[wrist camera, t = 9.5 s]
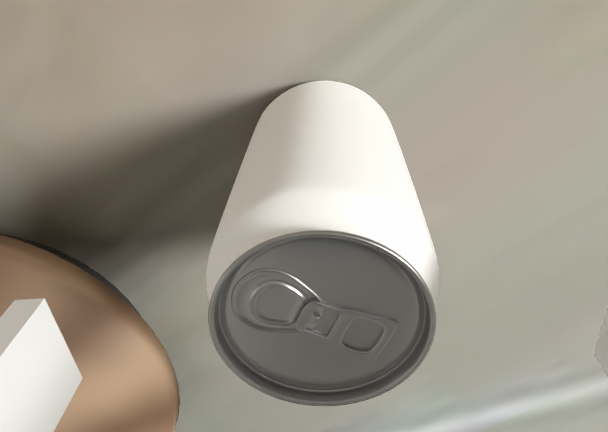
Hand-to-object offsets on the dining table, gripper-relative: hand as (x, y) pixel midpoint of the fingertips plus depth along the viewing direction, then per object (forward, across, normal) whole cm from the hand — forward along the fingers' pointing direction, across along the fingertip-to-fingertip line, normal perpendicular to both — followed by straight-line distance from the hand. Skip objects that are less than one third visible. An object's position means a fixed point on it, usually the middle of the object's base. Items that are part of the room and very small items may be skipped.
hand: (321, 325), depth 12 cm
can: (+12, 0, +1) cm, 12 cm away
